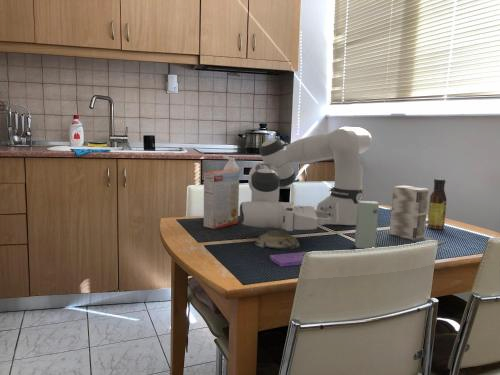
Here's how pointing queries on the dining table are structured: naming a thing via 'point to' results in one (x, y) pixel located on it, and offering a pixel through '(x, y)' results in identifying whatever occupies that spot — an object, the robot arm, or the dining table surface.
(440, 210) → the sauce bottle
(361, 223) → the pale green block
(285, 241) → the grey lumpy flat piece
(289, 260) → the sponges
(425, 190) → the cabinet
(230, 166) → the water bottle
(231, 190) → the cracker box
